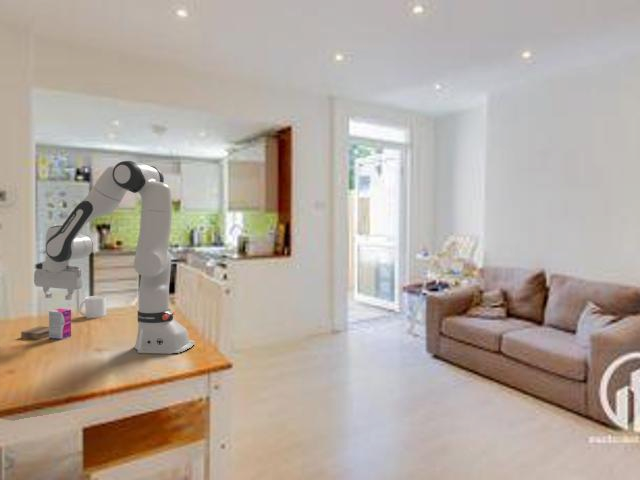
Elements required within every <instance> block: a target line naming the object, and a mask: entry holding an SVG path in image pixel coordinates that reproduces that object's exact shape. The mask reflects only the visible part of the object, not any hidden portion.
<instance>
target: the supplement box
mask: <svg viewBox="0 0 640 480" xmlns="http://www.w3.org/2000/svg"><path fill="white" fill-rule="evenodd" d="M48 327H49V337H48V339H49V340H57V341H58V340H59V341H61V340H64V339H66V338H69V337H71V336H72V309H69V308H68V309H67V308H57V309H54V310H49V311H48Z"/></svg>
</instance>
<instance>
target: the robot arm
mask: <svg viewBox="0 0 640 480" xmlns="http://www.w3.org/2000/svg"><path fill="white" fill-rule="evenodd" d="M164 181H165V180H164V175H163V173H162V171H161V170H160V169H158V168H157V167H156V166H152V165H149V164H146V163H143V162H139V161H132V160H123V161H120V162H119V163H117V164H115V165H110V166H108V167H107V168H106V169H105V170H104V171H103V172H102V173H101V175H100V176H99V177H98V178H97V180H96V182H95V183H94V185H93V187H92V188H91V190H90V192H89V193H88V194H87V195H86V196H85V198H84V199H82V201H80V203H78V204H77V205H76V206H75V208H74V209H73V210H72V212H71V213H70V214H69V215H68V217H67V218H66V220H65V221H64V223H63V224H62V225H55V226H50V227H48V228H47V230H46V234H45V253H46V256H45V261H40V262H38V263H35V264H34V273H33V276H34V277H33V283H34V286H35V287H37V288H38V287H39V288H40V287H41V288H42V291H43V293H44V295H45V299H51V298H52V297H53V294H52V293H51V291H50V289H61V290H62V289H63V290H64V289H65V290H67V295H65V296H64V297H65V298H64V300H66V301H71V300H72V296H73V293H74V292H75V290H80V289H82V288H83V277H82V270H81V269H80V268H79V266H72V260H77V259H82V258H84V259H85V258H86V257H89V256H90V255H92V252H93V251H94V243H93V241H92V239H91V237H90V236H88V235H87V234H86V235H85V234H81V233H80V232H81V231H82V230H83V229H84V227H85V226H86V224H88V223H90V222H91V221H93V220H95V219H97V218H100V217H102V216H106V215H109V214H112V213H113V212H114V211H115V210H116V209H117V208H118V206H120V204H121V202H122V200H123V199H124V196H125V195H126V194H127V192H131V193H133V194H136V193H138V194H139V195H140V197H141V208H140V209H141V210H140V222H139V223H140V224H139V232H138V233H139V235H138V239H137V243H136V247H135V248H136V249H135V250H136V251H135V257H134V261H133V268H134V269H135V271H136V272H137V274H138V275H140V279H139V280H140V281H139V288H138V310H137V323H138V327H137V328H138V329H137V336H136V340H135V345H134V349H135V350H137V353H138V354H160V355H161V354H167V355H169V354H170V355H172V353H178V354H181V353H180V352H182V353H184V352H183V351H185V350H187V349H189V348H191V347H192V346H193V345H194V344H195V345H196V343H195V340H192V339H190V335H189V331H188V329H187V328H186V327H184V326H183V325H182V324H181V323H179V321H177V320H175V319H174V315H175V314H176V311H175V310H174V311H171V309H170V282H171V281H170V280H171V269H172V268H171V267H172V266H171V265H172V255H171V252H170V251H169V250H168V246H169V241H170V235H171V232H172V231H171V229H172V228H171V227H172V215H173V213H172V212H173V209H172V208H173V200H172V199H173V198H172V191H171V188H170V186H169V185H168V184H166V183H165V182H164ZM195 345H194V346H195ZM194 346H193V347H194ZM193 347H192V348H193ZM192 348H191V349H192ZM189 350H190V349H189ZM187 351H188V350H187ZM185 352H186V351H185Z"/></svg>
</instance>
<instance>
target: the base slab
mask: <svg viewBox="0 0 640 480" xmlns="http://www.w3.org/2000/svg"><path fill="white" fill-rule="evenodd" d="M20 336H21V339H28V340H29V339H30V340H43V339H45V338H49V326H43V325H42V326H35V327H32V328H29V329H27V330H24V331H23V330H22V331H21V332H20Z"/></svg>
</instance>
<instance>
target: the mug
mask: <svg viewBox="0 0 640 480" xmlns="http://www.w3.org/2000/svg"><path fill="white" fill-rule="evenodd" d="M84 304H85V305H84ZM83 305H84V308H85V313H83V312H82V307H83ZM78 307H79V308H78V312H79V314H80V315H81V316H84V317H85V318H86V319H99V318H104V317H106V316H107V297H106V296H105V295H91V296H86V297H85V298H84V300H83V301H81V303H80V305H79V306H78Z"/></svg>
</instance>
